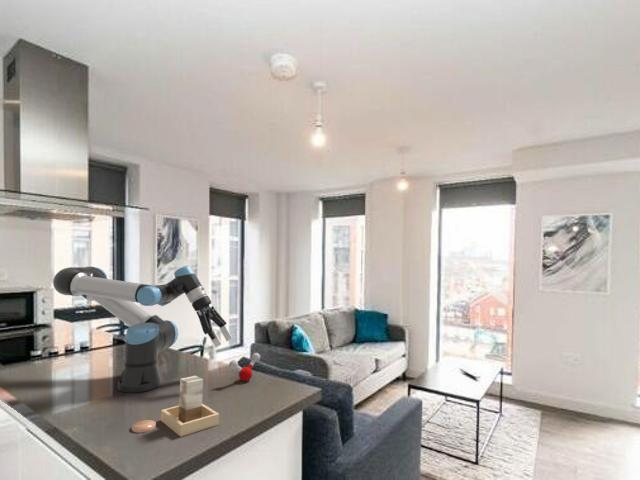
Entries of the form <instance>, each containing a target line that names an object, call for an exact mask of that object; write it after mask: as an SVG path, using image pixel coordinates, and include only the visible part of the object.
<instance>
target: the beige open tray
mask: <svg viewBox="0 0 640 480" xmlns="http://www.w3.org/2000/svg"><path fill="white" fill-rule="evenodd" d="M160 410H161V411H160V422H161V423H163V424H164V425H166V426H167V427H168V428H169V429H170V430H172V431H173V432H174V433H176V435H178V436H179V437H180V438H182V437H185V436H188V435H191V434H194V433H197V432H200V431H203V430H207V429H210V428H213V427H215V426H219V424H220V413H218V412H217V411H216V410H214V409H213V408H210V407H209V406H208V405H206V404H204V403H203V402H202V415H201V418H199V419H196V420H192V421H189V422H185V423H182V422H181V421H180V420H178V415H179V405H175V406H172V407H168V408H164V409H160Z"/></svg>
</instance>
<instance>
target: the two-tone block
mask: <svg viewBox="0 0 640 480" xmlns="http://www.w3.org/2000/svg"><path fill="white" fill-rule="evenodd" d="M179 379H180V381H179V383H180V384H179V400H178V406H179V415H178V420H180V421H181V422H182V423H185V422H189V421H192V420H196V419H199V418H201V415H202V403H203V392H204V391H203V390H204V379H203V378H202V377H199V376H197V375H191V376H187V377H183V378H179Z"/></svg>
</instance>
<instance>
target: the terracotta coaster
mask: <svg viewBox="0 0 640 480" xmlns="http://www.w3.org/2000/svg"><path fill="white" fill-rule="evenodd" d="M156 426H157V423H156V421H154V420H152V419H143V420H139V421H136V422H134V423H133V424H132V425H131V431H132V432H133V433H136V434H138V433H139V434H141V433H142V434H143V433H147V432H150V431H153V430H155V428H156Z"/></svg>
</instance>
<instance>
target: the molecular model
mask: <svg viewBox="0 0 640 480" xmlns="http://www.w3.org/2000/svg"><path fill="white" fill-rule="evenodd" d="M260 359H261V354H259V353H258V352H254V353H253V354H252V355H251V361H250V362H249V364H248V365H247V366H244V367H241V366H240V365H239V363H238V361H237V360H234V359H233V360H230V361H229V363H228V368H229V369H230V370H231V371H232V370H235V371H237V372H238V378H239V379H240V381H243V382H248V381H250V380H251V379H252V376H253V371H252V369H253V367H254V365H255V364H256V363H257V362H259V361H260Z"/></svg>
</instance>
